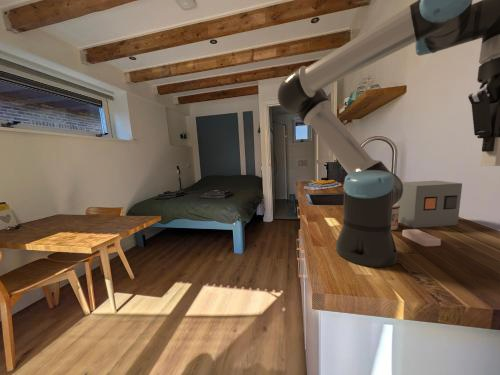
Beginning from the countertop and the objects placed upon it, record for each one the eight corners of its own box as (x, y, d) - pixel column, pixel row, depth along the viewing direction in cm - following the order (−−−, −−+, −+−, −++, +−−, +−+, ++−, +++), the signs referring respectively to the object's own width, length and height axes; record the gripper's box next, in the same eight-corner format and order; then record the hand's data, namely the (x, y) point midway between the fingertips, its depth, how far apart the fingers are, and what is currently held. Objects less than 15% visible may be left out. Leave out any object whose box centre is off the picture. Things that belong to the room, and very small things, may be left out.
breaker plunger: (424, 209, 74) (425, 198, 74) (402, 203, 84) (403, 193, 84) (434, 208, 75) (435, 198, 74) (411, 202, 85) (412, 193, 84)
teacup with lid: (393, 232, 71) (395, 200, 70) (366, 226, 78) (367, 197, 77) (404, 224, 79) (406, 195, 77) (378, 219, 86) (379, 193, 84)
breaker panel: (414, 228, 75) (417, 186, 72) (392, 219, 85) (395, 182, 83) (458, 225, 76) (463, 183, 74) (432, 217, 86) (435, 180, 84)
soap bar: (424, 247, 60) (424, 239, 60) (401, 235, 69) (401, 229, 69) (441, 246, 60) (442, 239, 60) (416, 235, 69) (417, 228, 69)
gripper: (500, 49, 40) (484, 167, 43) (558, 49, 41) (538, 164, 44) (458, 66, 47) (448, 166, 51) (508, 66, 48) (495, 164, 52)
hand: (490, 165), depth 48 cm, fingers closed
